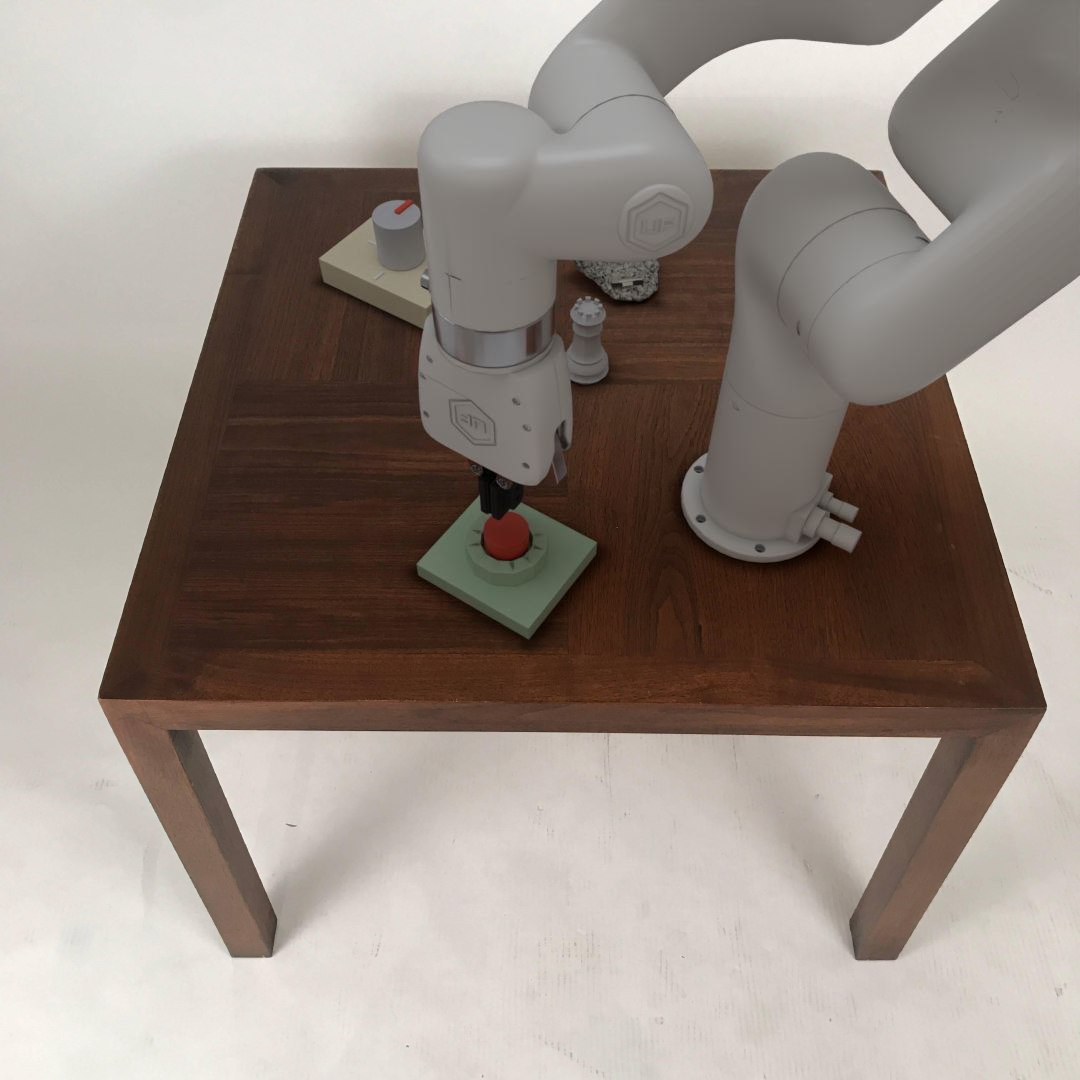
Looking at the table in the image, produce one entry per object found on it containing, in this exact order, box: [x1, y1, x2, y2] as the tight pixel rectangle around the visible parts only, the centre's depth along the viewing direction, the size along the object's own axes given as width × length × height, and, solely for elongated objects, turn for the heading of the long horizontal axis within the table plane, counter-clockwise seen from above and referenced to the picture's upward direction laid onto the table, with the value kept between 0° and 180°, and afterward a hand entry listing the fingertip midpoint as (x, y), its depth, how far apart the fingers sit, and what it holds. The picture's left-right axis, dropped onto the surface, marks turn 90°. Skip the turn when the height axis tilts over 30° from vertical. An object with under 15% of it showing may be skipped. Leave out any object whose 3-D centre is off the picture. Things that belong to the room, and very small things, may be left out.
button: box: [483, 511, 529, 560], centre depth 78 cm, size 4×4×2 cm
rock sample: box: [571, 258, 661, 302], centre depth 101 cm, size 10×8×9 cm
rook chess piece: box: [565, 295, 609, 385], centre depth 92 cm, size 4×4×8 cm
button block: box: [416, 494, 598, 640], centre depth 80 cm, size 11×10×4 cm
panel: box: [318, 216, 432, 330], centre depth 102 cm, size 14×10×3 cm
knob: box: [371, 198, 426, 271], centre depth 99 cm, size 5×5×5 cm
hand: (501, 504), depth 75 cm, fingers closed
